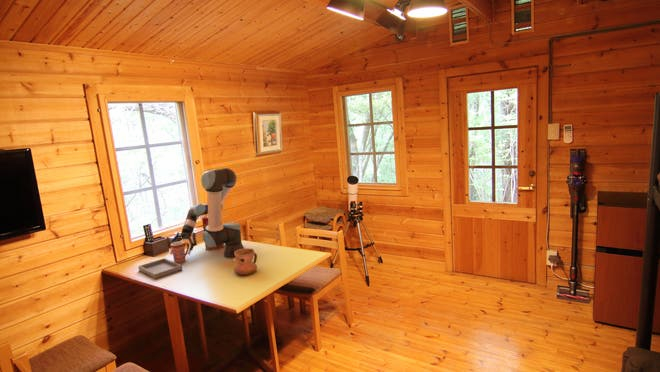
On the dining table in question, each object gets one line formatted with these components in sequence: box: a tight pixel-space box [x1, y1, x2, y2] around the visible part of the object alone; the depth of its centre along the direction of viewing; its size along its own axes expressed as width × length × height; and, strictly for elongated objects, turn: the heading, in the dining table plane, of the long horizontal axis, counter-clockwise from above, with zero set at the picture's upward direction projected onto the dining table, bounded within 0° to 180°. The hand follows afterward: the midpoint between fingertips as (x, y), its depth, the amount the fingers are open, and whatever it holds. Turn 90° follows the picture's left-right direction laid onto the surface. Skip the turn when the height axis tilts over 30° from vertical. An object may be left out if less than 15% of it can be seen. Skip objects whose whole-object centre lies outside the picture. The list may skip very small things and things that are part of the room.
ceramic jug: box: [232, 247, 258, 276], centre depth 251 cm, size 18×14×14 cm
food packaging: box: [201, 214, 225, 251], centre depth 303 cm, size 13×9×25 cm
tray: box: [138, 257, 183, 280], centre depth 263 cm, size 24×18×4 cm
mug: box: [170, 240, 190, 264], centre depth 279 cm, size 13×9×14 cm
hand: (179, 254), depth 277 cm, fingers open, 13 cm apart
